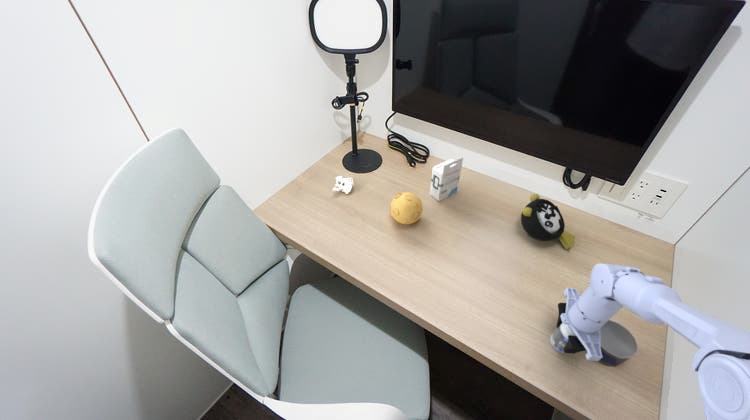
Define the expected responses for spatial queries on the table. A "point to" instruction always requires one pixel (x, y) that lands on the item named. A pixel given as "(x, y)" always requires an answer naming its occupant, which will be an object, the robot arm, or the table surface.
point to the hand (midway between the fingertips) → (564, 339)
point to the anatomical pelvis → (347, 184)
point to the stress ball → (406, 208)
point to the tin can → (616, 344)
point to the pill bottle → (561, 337)
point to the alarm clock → (545, 222)
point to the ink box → (445, 179)
